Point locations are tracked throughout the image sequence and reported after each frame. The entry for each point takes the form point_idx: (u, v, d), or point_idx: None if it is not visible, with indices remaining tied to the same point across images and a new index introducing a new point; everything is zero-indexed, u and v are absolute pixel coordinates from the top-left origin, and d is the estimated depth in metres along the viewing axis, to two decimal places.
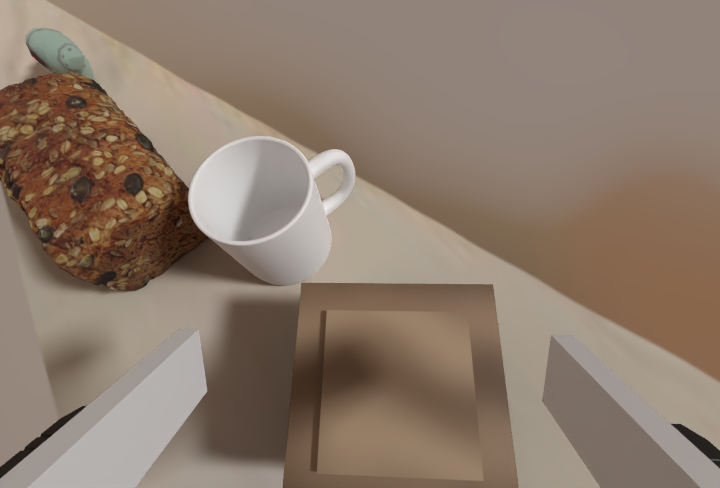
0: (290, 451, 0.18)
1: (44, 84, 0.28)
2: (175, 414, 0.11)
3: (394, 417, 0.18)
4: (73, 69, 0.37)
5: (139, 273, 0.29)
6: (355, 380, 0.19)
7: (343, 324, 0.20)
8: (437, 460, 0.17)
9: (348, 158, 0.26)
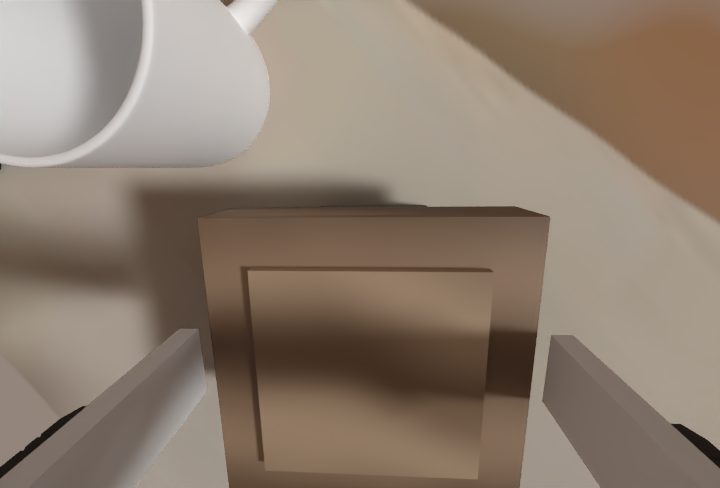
0: (229, 443, 0.14)
1: None
2: (175, 414, 0.11)
3: (363, 415, 0.13)
4: None
5: None
6: (305, 372, 0.12)
7: (278, 293, 0.12)
8: (420, 460, 0.13)
9: None
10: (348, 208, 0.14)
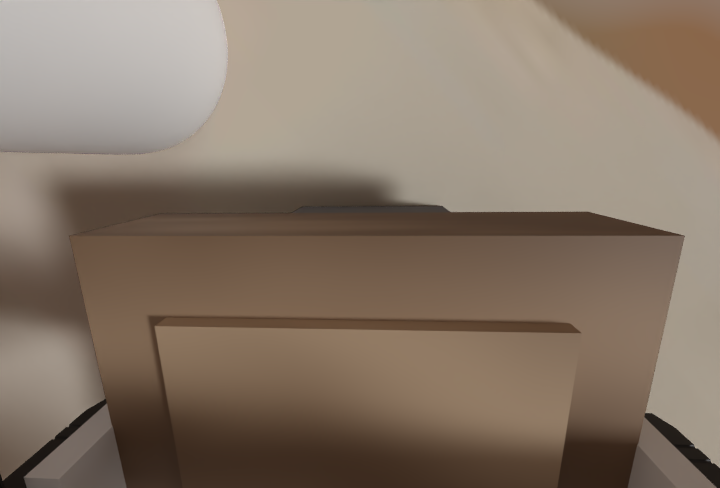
0: None
1: None
2: None
3: None
4: None
5: None
6: (260, 483, 0.08)
7: (209, 363, 0.07)
8: None
9: None
10: (332, 215, 0.09)
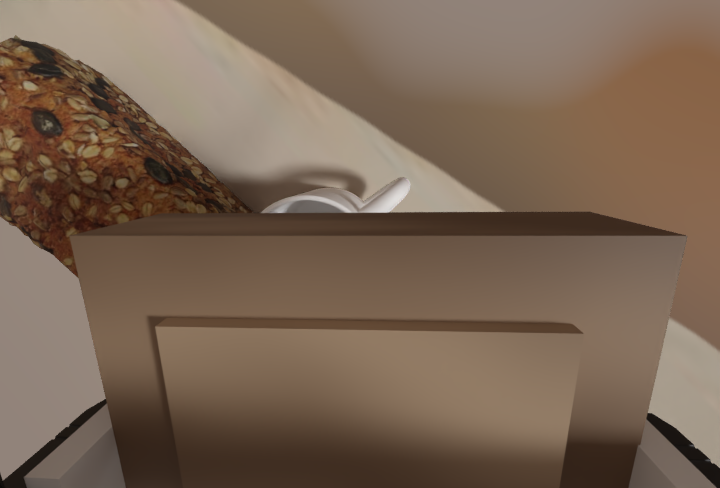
0: None
1: None
2: None
3: None
4: None
5: None
6: (260, 484, 0.08)
7: (209, 363, 0.07)
8: None
9: (407, 190, 0.21)
10: (332, 215, 0.09)
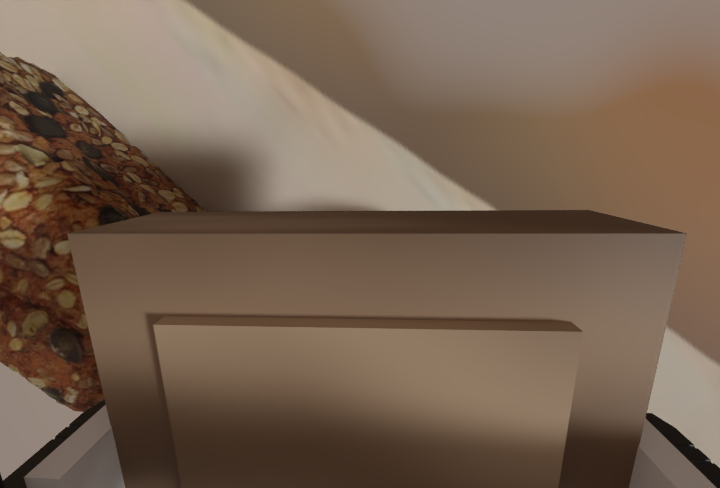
0: None
1: None
2: None
3: None
4: None
5: None
6: (259, 483, 0.08)
7: (208, 361, 0.07)
8: None
9: None
10: (331, 213, 0.09)
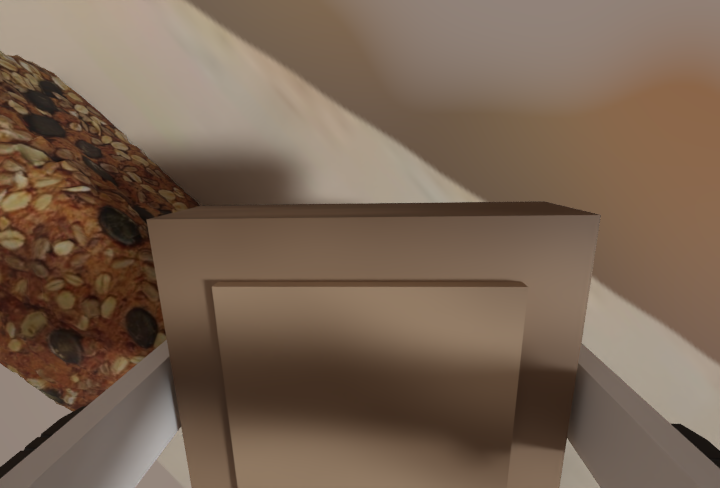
0: None
1: None
2: (176, 414, 0.11)
3: (362, 461, 0.10)
4: None
5: None
6: (289, 411, 0.10)
7: (251, 314, 0.09)
8: None
9: None
10: (341, 205, 0.11)
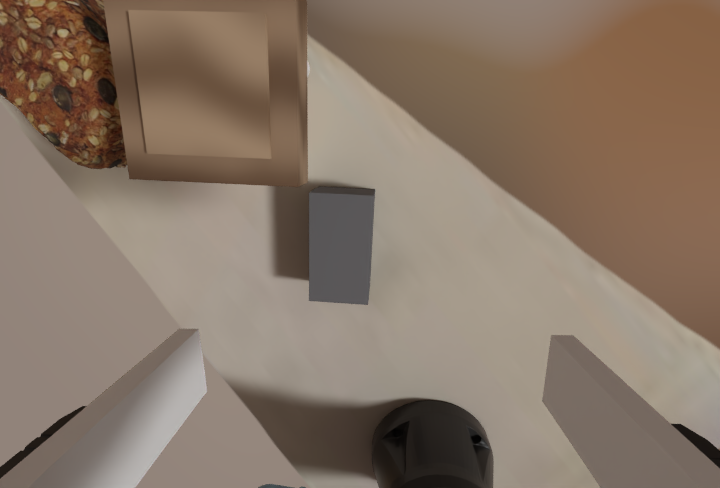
0: (127, 139, 0.23)
1: None
2: (175, 414, 0.11)
3: (201, 112, 0.22)
4: None
5: None
6: (165, 81, 0.21)
7: (146, 25, 0.21)
8: (235, 144, 0.22)
9: None
10: None
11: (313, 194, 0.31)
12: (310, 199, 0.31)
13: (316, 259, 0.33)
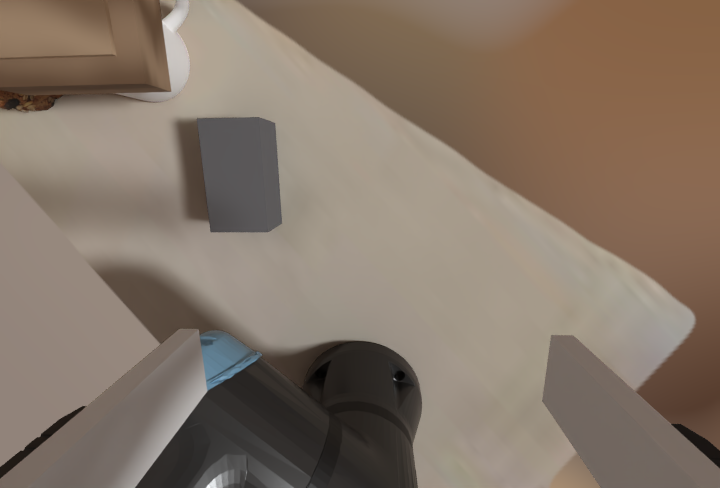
0: None
1: None
2: (175, 414, 0.11)
3: (42, 11, 0.23)
4: None
5: (40, 97, 0.35)
6: None
7: None
8: (78, 42, 0.23)
9: None
10: None
11: (201, 120, 0.32)
12: (199, 125, 0.32)
13: (212, 188, 0.33)
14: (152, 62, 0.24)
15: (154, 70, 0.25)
